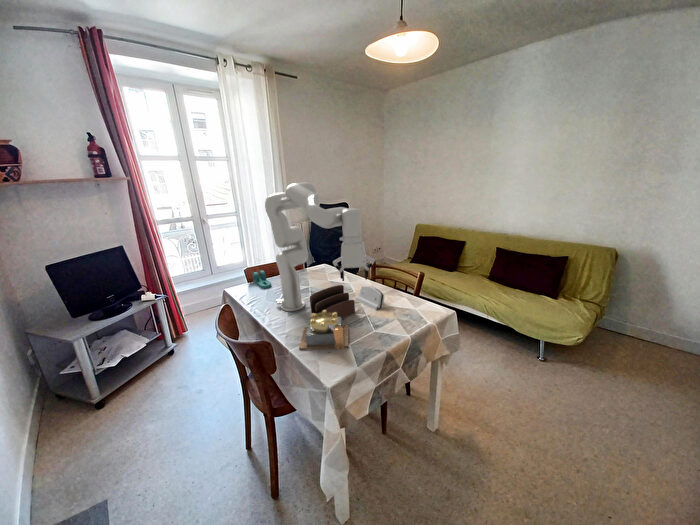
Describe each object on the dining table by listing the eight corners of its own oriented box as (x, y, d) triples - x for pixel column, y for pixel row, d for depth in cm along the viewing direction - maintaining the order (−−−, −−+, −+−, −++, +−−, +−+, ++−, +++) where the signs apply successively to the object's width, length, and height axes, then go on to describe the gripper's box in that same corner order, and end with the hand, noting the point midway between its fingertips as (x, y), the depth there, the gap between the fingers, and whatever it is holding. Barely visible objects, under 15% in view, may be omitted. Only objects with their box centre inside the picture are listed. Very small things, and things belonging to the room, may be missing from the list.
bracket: (253, 282, 189) (251, 271, 186) (263, 279, 193) (261, 269, 190) (262, 290, 175) (261, 278, 173) (273, 287, 179) (271, 275, 176)
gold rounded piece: (306, 329, 121) (304, 313, 119) (331, 321, 127) (330, 306, 124) (327, 354, 104) (325, 335, 101) (354, 343, 110) (354, 325, 107)
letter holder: (311, 319, 136) (308, 293, 132) (343, 307, 147) (342, 282, 143) (322, 327, 128) (319, 299, 124) (355, 313, 140) (354, 288, 135)
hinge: (355, 300, 154) (359, 282, 153) (361, 300, 157) (365, 283, 156) (376, 310, 142) (380, 291, 141) (382, 310, 145) (387, 292, 144)
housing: (299, 349, 112) (297, 336, 110) (305, 329, 127) (303, 317, 126) (348, 347, 112) (347, 334, 110) (348, 327, 127) (347, 315, 125)
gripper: (330, 243, 108) (333, 283, 113) (374, 240, 108) (376, 281, 113) (331, 239, 115) (334, 277, 120) (372, 236, 115) (374, 275, 120)
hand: (354, 279), depth 117 cm, fingers open, 9 cm apart
